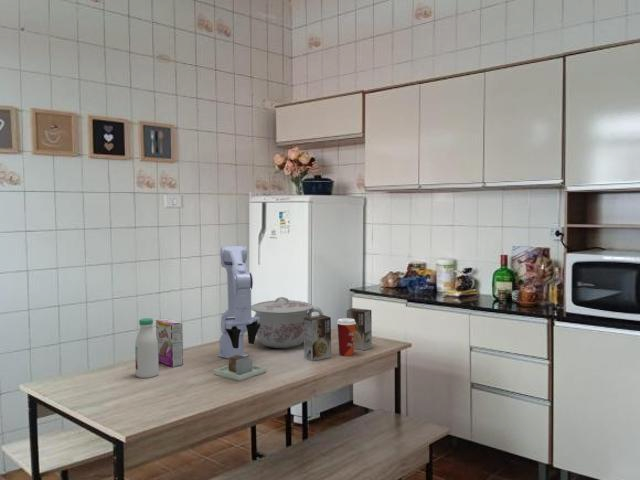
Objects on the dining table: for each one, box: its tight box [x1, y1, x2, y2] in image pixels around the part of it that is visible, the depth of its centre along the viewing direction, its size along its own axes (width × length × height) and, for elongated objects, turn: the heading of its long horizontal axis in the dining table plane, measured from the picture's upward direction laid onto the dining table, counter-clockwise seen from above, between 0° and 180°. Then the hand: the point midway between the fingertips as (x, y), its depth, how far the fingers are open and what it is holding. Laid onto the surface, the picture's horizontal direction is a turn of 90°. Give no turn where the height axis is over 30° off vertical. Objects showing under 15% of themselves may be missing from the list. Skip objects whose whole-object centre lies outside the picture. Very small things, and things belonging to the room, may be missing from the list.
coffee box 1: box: [303, 314, 332, 362], centre depth 222 cm, size 9×6×16 cm
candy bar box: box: [155, 318, 184, 368], centre depth 215 cm, size 11×5×16 cm, turn 47°
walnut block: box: [228, 355, 246, 373], centre depth 204 cm, size 4×4×5 cm
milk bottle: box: [134, 317, 160, 379], centre depth 200 cm, size 8×8×20 cm
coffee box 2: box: [346, 307, 373, 351], centre depth 238 cm, size 9×6×16 cm
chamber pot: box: [251, 296, 324, 349], centre depth 243 cm, size 28×28×21 cm
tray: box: [213, 364, 267, 382], centre depth 202 cm, size 13×13×2 cm
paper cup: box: [336, 317, 356, 357], centre depth 227 cm, size 8×8×14 cm
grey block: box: [236, 357, 253, 375], centre depth 200 cm, size 4×4×5 cm
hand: (243, 345), depth 199 cm, fingers open, 7 cm apart
